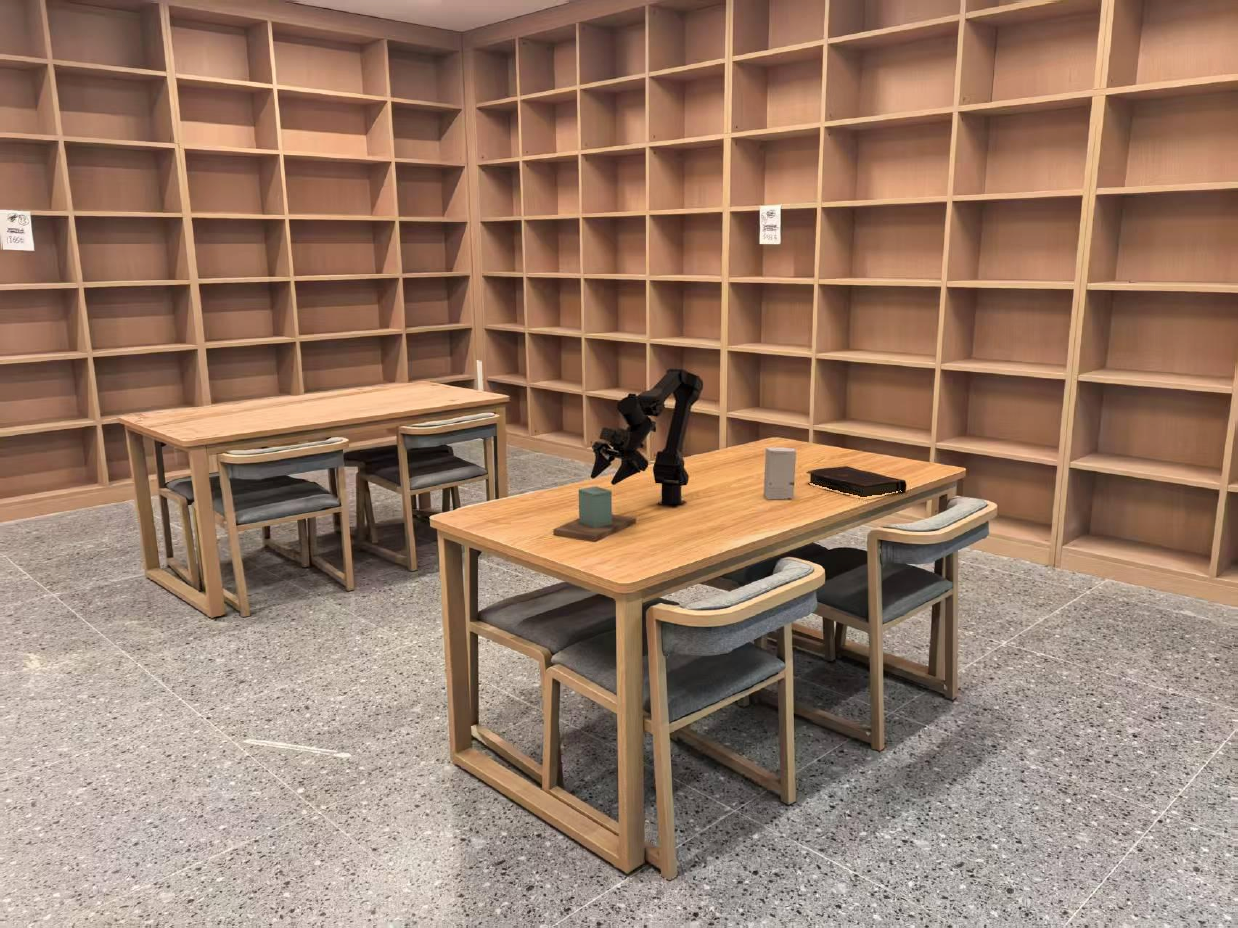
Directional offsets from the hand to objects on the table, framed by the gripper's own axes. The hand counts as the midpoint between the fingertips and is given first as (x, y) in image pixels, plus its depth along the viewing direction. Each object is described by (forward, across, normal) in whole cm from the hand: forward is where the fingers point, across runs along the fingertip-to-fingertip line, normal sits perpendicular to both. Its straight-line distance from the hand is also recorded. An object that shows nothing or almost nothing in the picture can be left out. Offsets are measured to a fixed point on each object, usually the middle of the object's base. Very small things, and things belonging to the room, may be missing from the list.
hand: (601, 480), depth 243 cm
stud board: (+10, 0, +7) cm, 13 cm away
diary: (-52, +12, +71) cm, 89 cm away
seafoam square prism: (+10, 0, +6) cm, 11 cm away
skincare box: (-34, +6, +52) cm, 62 cm away
